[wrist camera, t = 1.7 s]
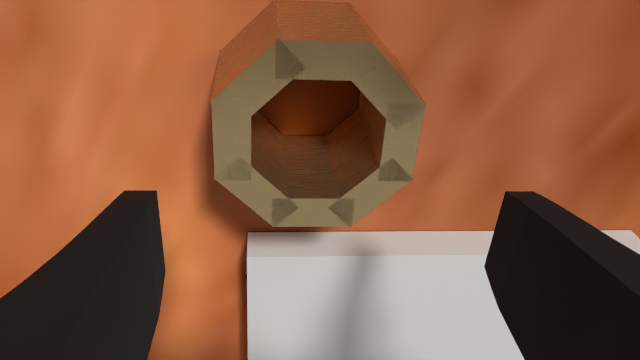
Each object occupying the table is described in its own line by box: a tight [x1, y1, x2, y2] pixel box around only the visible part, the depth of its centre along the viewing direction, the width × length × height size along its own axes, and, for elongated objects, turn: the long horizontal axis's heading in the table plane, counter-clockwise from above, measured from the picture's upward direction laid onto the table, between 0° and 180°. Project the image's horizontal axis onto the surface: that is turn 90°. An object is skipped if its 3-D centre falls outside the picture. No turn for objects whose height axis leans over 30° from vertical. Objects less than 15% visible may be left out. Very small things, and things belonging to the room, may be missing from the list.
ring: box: [210, 0, 426, 227], centre depth 16 cm, size 6×6×4 cm
